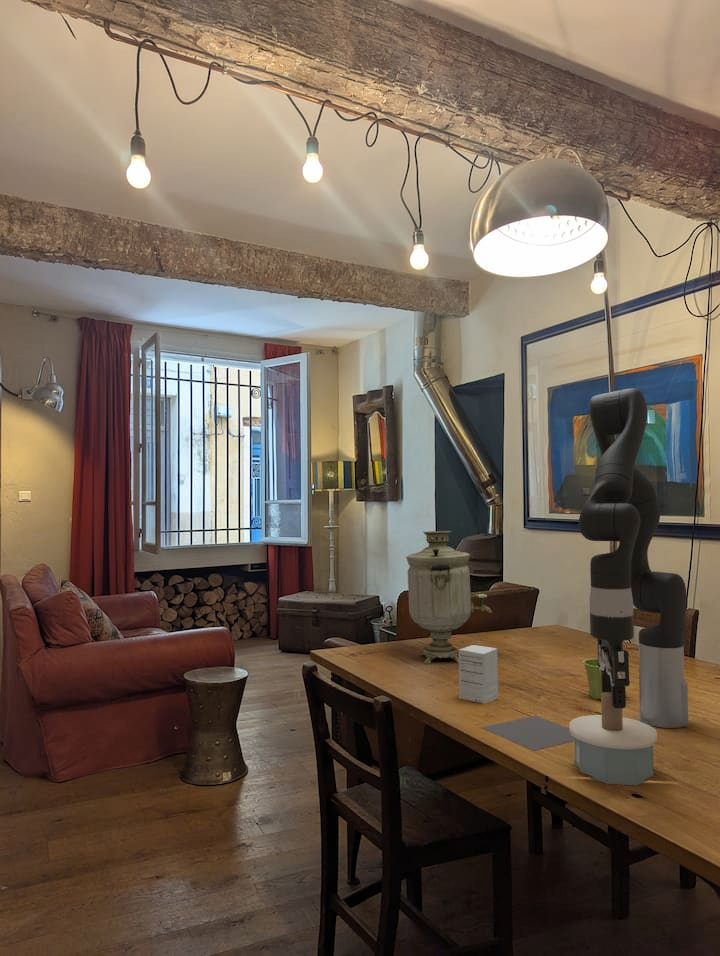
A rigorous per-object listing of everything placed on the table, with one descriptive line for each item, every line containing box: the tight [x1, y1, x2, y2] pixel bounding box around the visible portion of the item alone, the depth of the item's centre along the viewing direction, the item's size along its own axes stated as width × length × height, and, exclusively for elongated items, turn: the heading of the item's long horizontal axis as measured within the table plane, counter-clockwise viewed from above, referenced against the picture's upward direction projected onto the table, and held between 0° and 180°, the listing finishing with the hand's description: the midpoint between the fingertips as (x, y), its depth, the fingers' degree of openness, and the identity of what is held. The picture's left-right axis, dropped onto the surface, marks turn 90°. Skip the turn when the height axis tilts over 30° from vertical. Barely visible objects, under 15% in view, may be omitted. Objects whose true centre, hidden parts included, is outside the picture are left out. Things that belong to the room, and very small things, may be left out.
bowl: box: [574, 738, 654, 787], centre depth 124 cm, size 13×13×6 cm
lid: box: [568, 692, 658, 749], centre depth 124 cm, size 15×15×7 cm
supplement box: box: [458, 644, 499, 705], centre depth 169 cm, size 7×7×13 cm
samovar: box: [405, 530, 493, 664], centre depth 212 cm, size 30×26×40 cm
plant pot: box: [582, 658, 620, 700], centre depth 170 cm, size 9×9×9 cm
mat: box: [480, 715, 575, 752], centre depth 143 cm, size 16×16×1 cm
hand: (613, 700), depth 124 cm, fingers open, 8 cm apart
